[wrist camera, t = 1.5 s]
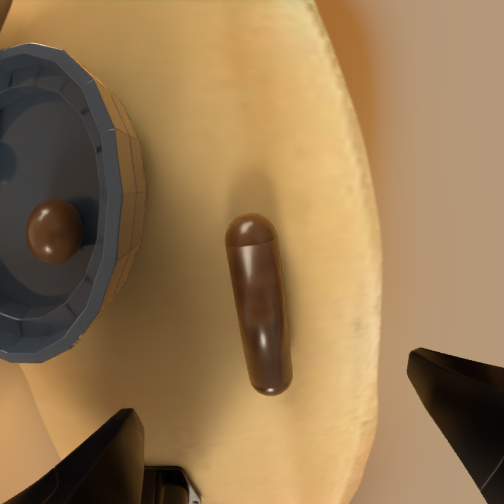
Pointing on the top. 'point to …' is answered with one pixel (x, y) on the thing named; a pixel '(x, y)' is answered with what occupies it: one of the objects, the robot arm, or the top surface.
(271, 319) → the stick
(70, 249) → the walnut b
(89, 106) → the bowl
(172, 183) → the top surface
